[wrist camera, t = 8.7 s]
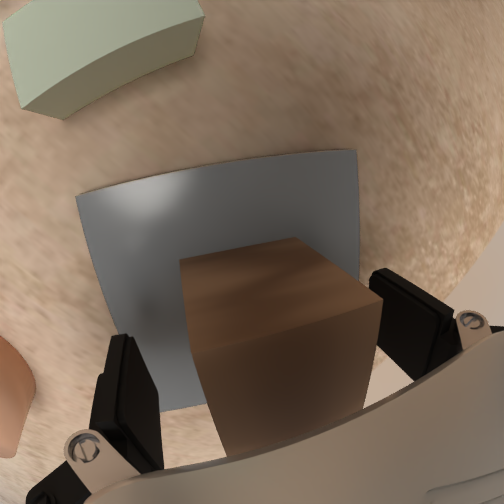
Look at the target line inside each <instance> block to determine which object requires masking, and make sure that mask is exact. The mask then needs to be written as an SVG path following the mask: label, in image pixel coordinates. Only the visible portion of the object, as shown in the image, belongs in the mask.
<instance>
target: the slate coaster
mask: <svg viewBox="0 0 504 504" xmlns="http://www.w3.org/2000/svg"><path fill="white" fill-rule="evenodd" d="M75 197H76V202H77V206H78V210H79V215H80V219H81V223H82V227H83V231H84V234H85V238H86V242H87V245H88V249H89V252H90V255H91V259H92V262H93V265H94V268H95V271H96V274H97V277H98V280H99V283H100V286H101V289H102V292H103V295H104V298H105V300H106V303H107V306H108V308H109V311H110V314H111V316H112V319H113V321H114V324H115V326H116V328H117V331H118V333H119V334H125V333H127V334H128V335H129V337H131V336H133V337H134V338H135V341H136V343H137V346H138V348H139V350H140V353H141V355H142V357H143V360H144V362H145V364H146V366H147V368H148V371H149V373H150V375H151V377H152V379H153V381H154V383H155V386H156V388H157V390H158V394H159V409H160V412H164V411H170V410H176V409H181V408H186V407H192V406H197V405H201V404H206V403H207V401H206V398H205V395H204V392H203V389H202V386H201V383H200V380H199V377H198V374H197V370H196V367H195V364H194V361H193V358H192V354H191V349H190V342H189V336H188V329H187V322H186V315H185V307H184V299H183V291H182V282H181V273H180V264H179V259H184V258H189V257H194V256H199V255H204V254H209V253H214V252H220V251H225V250H230V249H235V248H240V247H245V246H250V245H255V244H261V243H266V242H271V241H276V240H281V239H286V238H292V237H296V238H298V239H299V240H301V241H302V242H304V243H305V244H307V245H308V246H310V247H311V248H312V249H314V250H315V251H317V252H318V253H320V254H321V255H322V256H324V257H325V258H327V259H328V260H330V261H331V262H332V263H334V264H335V265H337V266H338V267H339V268H341V269H342V270H344V271H345V272H346V273H348V274H349V275H351V276H352V277H353V278H355V279H356V280H358V281H359V256H360V217H359V186H358V168H357V154H356V149H341V150H326V151H313V152H302V153H292V154H282V155H274V156H265V157H257V158H250V159H243V160H236V161H229V162H223V163H217V164H211V165H205V166H199V167H194V168H188V169H183V170H178V171H173V172H168V173H163V174H158V175H154V176H149V177H145V178H140V179H136V180H132V181H128V182H124V183H120V184H116V185H112V186H108V187H104V188H100V189H97V190H93V191H89V192H86V193H82V194H80V195H78V196H75Z"/></svg>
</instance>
